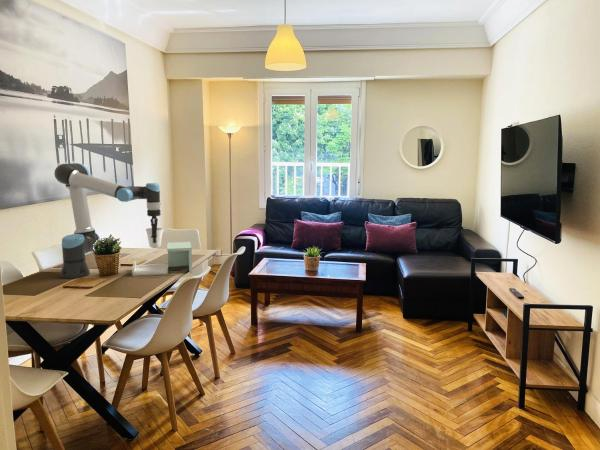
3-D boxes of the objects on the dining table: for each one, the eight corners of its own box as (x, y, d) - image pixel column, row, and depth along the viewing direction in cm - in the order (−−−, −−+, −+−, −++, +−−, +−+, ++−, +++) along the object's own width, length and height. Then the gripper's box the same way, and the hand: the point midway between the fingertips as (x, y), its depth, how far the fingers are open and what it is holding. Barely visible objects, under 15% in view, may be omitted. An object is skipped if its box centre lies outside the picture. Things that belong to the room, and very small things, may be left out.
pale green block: (168, 274, 262) (167, 248, 260) (168, 266, 280) (167, 242, 278) (192, 273, 266) (191, 247, 264) (190, 265, 284) (190, 241, 282)
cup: (166, 245, 270) (165, 227, 269) (159, 248, 261) (159, 230, 259) (150, 245, 271) (150, 227, 270) (143, 248, 262) (142, 230, 260)
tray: (132, 275, 257) (131, 267, 256) (134, 269, 272) (134, 261, 272) (168, 273, 263) (167, 265, 262) (168, 267, 278) (168, 259, 277)
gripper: (159, 211, 253) (161, 249, 257) (160, 207, 273) (162, 243, 277) (146, 211, 251) (147, 250, 255) (148, 207, 271) (149, 243, 275)
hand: (155, 246), depth 266 cm, fingers closed on cup, 8 cm apart
